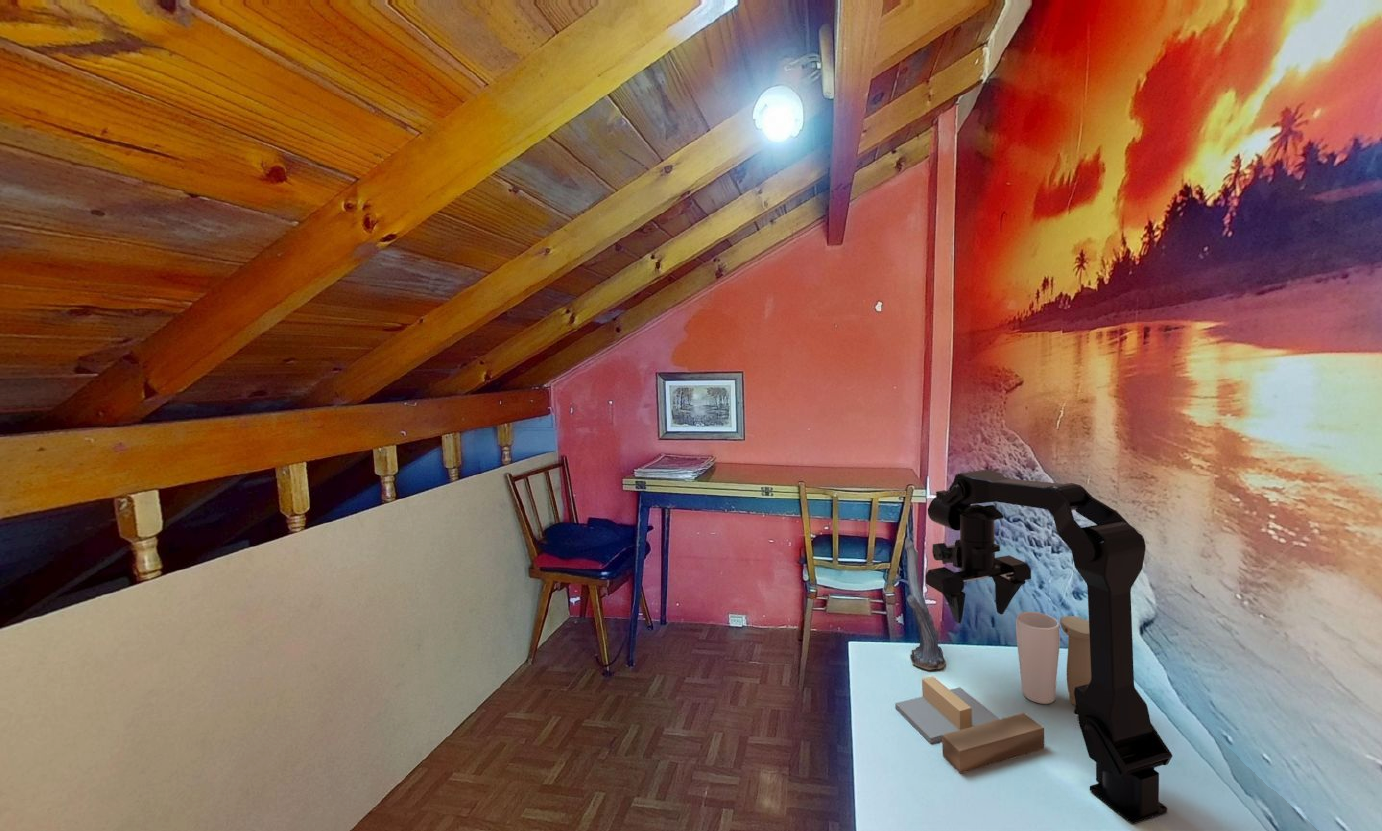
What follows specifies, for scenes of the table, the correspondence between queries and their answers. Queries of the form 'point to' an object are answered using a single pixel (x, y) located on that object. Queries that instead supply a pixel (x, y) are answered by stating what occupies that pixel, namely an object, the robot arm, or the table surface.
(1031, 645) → the drinking glass
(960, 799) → the table surface
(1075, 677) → the handle
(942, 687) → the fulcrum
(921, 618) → the antler
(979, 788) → the table surface
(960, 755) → the batten
